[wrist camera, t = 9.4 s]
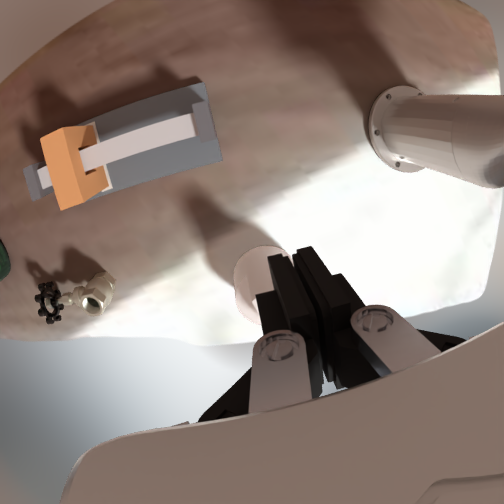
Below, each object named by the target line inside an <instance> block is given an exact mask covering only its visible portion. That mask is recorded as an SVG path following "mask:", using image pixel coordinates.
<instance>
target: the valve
mask: <svg viewBox="0 0 504 504" xmlns="http://www.w3.org/2000/svg"><path fill="white" fill-rule="evenodd" d="M115 284H116V280H115V279H114V278H113V277H112V276H111V275H110V274H109V273H108V272H107V271H106V272H102V273H97V274H95V276H94V277H93V279H92V280H91V281H89V282H88V283H87V285H86V287H83V286H78V287H75V288H74V290H73V293H71V292H68V293H64V294H63V295H62V296H61V293H60V291H59V290H55V291H53V290H52V287H53V286H54V284H53V282H47V283H46V284H45V283H41V284H39V285H38V289H39V290H40V291H41V294H38V295H35V301H36V302H39V303H40V306H41V308H40V309H39V310H38V314H39V316H46V317H47V318H46V322H47V324H53V323H54V321H60V320H61V315H59V313H60V310H63V309H64V305H65V306H69V305H73V303H75V304H76V305H77V306H78V307H80V308H81V309H82V310H83V311H84V312H85V313H86V314H88V315H89V316H98V315H102V314H103V312H104V310H105V307H106V306H107V305H108V304H109V303H110V302H111V300H112V297H113V293H114V291H115ZM45 286H46V288H45ZM47 292H48V293H50V294H48V293H47ZM44 298H46V306H47V307H48V308H50V309H51V308H53V309H54V311H53V312H52V313H50V312H48V310H47V309H46V306H45V303H44ZM63 304H64V305H63ZM52 317H53V319H54V320H52Z"/></svg>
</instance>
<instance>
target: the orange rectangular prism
mask: <svg viewBox="0 0 504 504" xmlns="http://www.w3.org/2000/svg"><path fill="white" fill-rule="evenodd" d="M40 141H41V145H42V149H43V153H44V157H45V161H46V164H47V168H48V171H49V175H50V178H51V181H52V185H53V188H54V191H55V194H56V197H57V200H58V204H59V206H60V209H61V210H64V209H67V208H69V207H72V206H75V205H78V204H80V203H83V202H85V201H86V200H88V199H89V198H91V197H93V196H94V195H96V194H97V193H99V192H100V191H102V190H104V189H105V188H107V187H108V186H109V184H108V180H107V177H106V174H105V170H104V167H103V165H102V166H99V167H97V168H94V169H91V170H89V171H86V172H85V171H84V167H83V164H82V160H81V157H80V153H79V151H81V150H83V149H85V148H88V147H90V146H93V145H95V144H97V141H96V137H95V133H94V129H93V125H88V126H73V127H62V128H60V129H58V130H56V131H54V132H52V133H50V134H48V135H46V136H44V137H42V138H40Z"/></svg>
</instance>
